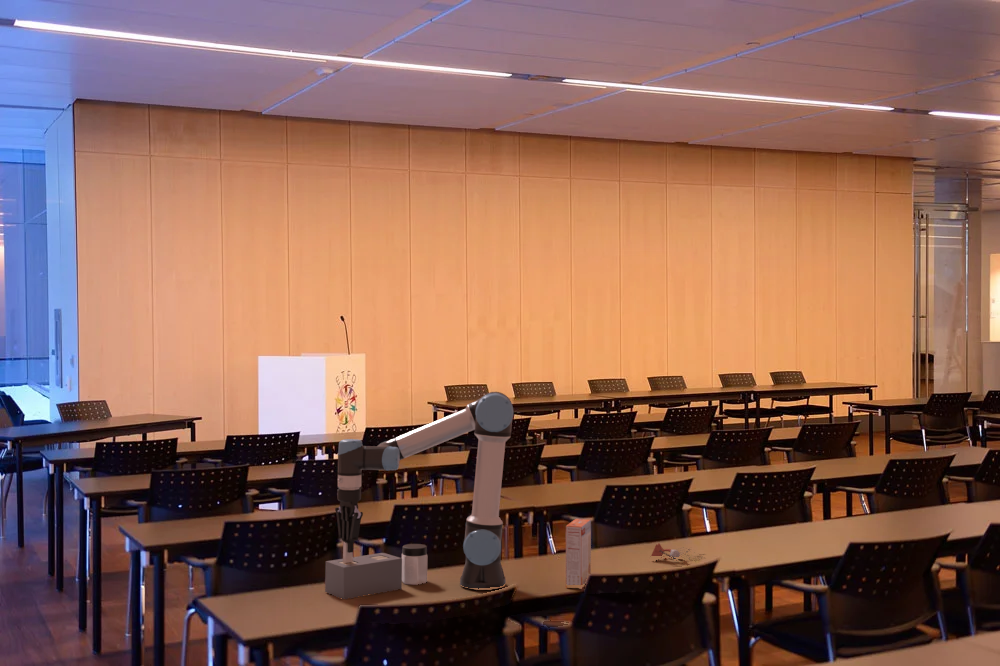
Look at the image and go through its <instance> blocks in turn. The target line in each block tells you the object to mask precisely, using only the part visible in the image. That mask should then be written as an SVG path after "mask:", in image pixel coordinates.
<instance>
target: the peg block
mask: <svg viewBox="0 0 1000 666" xmlns="http://www.w3.org/2000/svg"><path fill="white" fill-rule="evenodd" d="M377 556H384V557H387V558H386V559H379V560H377V559H373V558H371V557H377ZM339 562H343V558H339V559H333V560H332V559H331V560H326V561H325V574H324V575H325V578H324V579H325V582H324V583H325V584H324V588H325V589H324V590H325V591H324V592H327V593H329V594H328V595H330V594H332V595H331V596H333V595H334V596H333V597H335V596H336V597H335V598H338V597H339V598H338V599H340V598H342V599H341V600H343V599H345V600H349V599H348V598H350V599H354V597H356V598H359V597H358V596H361V597H364V596H363V595H367V596H369V595H368V594H372V595H375V594H374V593H378V594H381V593H380V592H383V593H388V592H387V591H389V592H393V590H394V591H399V590H398V589H400V590H402V587H403V586H402V583H403V582H402V557H399V556H395V555H392V554H388V553H386V552H380V553H372V554H367V555H359V556H353V562H356V563H354V564H347V565H345V564H342V563H339ZM327 593H326V594H327Z"/></svg>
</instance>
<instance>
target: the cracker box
mask: <svg viewBox="0 0 1000 666" xmlns="http://www.w3.org/2000/svg"><path fill="white" fill-rule="evenodd" d="M591 539H592V520H591V519H585V518H575V519H574V520H572V521H571V522H569V523H568V524H567V525H565V585H566V584H567V585H583V584H585V582H586V579H587V576H588V575H589V574H591V575H592V548H591V547H592V546H591V545H592V540H591Z"/></svg>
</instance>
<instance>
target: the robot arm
mask: <svg viewBox="0 0 1000 666" xmlns="http://www.w3.org/2000/svg"><path fill="white" fill-rule="evenodd" d="M514 414H515V413H514V407H513V403H512V401H511V399H510V398H509V397H508V396H507V395H506V394H505V393H502V392H501V391H500V392H499V391H490V392H487V393H486V394H484V395H483V396H481V397H480V398H478V399H476V400H475V401H472V402H470V403H468V404H467V405H466V407H465V408H464V409H461V410H459V411H455V412H454V413H452V414H448V415H447V416H444V417H442V418H439V419H437V420H435V421H432V422H430V423H427V424H424V425H423V426H420V427H417V428H415V429H413V430H409V431H408V432H405V433H403V434H400V435H399V436H396V437H394V438H391V439H389V440H384V441H382V442H380V443H378V445H377V446H375V445H373V446H371V445H370V446H368V445H363V441H362V439H357V438H355V439H354V438H344V439H341V440H340V441H339V442H338V451H337V488H338V489H337V491H336V492H337V495H336V497H337V498H336V499H337V501H338V502H339V506H338V507H335V509H334V510H335V514H336V520H337V531H338V538H339V539H341V541H342V552H343V553H342V559H343V562H344V563H349V562H353V557H354V544H355V542H357V541H358V540H359V534H360V528H361V522H362V518H363V515H364V512H363V511H360V510H359V503H358V502H359V501H361V499H362V489H361V487H362V470H363V471H367V470H368V471H369V470H370V471H388V472H389V471H397V470H398V469H399V468H400V462H401V461H402V460H404V459H406V458H408V457H411V456H413V455H416V454H418V453H420V452H423V451H425V450H428V449H430V448H433V447H436V446H437V445H440V444H443V443H444V442H448V441H449V440H452V439H455V438H458V437H460V436H462V435H465V434H467V433H469V432H472V431H474V432H473V433H474V436H475V437H476V438H477V439H478V442H477V451H476V453H477V454H476V462H475V463H476V464H475V474H474V475H475V476H474V485H473V495H472V496H473V497H472V508H471V509H472V510H471V514H470V515H468V516H467V518H466V522H465V533H464V541H463V544H462V547H463V548H462V549H463V553H464V554H465V564H464V566H463V570H462V572H461V576H460V579H459V580H460V581H459V586H460V585H462V586H464V587H468V588H478V589H479V588H490V587H500V586H503V585H504V584H505V583H506V576H505V573H504V569H503V567H502V566H503V565H502V563H501V562H502V561H501V557H502V556H501V555H502V536H503V526H504V525H503V524H504V523H503V520H501V517H499V516H500V505H501V503H500V502H501V492H502V484H503V483H502V480H503V473H504V472H503V471H504V462H505V461H504V459H505V451H506V450H505V449H506V442H507V441H508V440H509V439H510V438H511V435H512V423H513V418H514ZM506 584H507V583H506Z"/></svg>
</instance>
